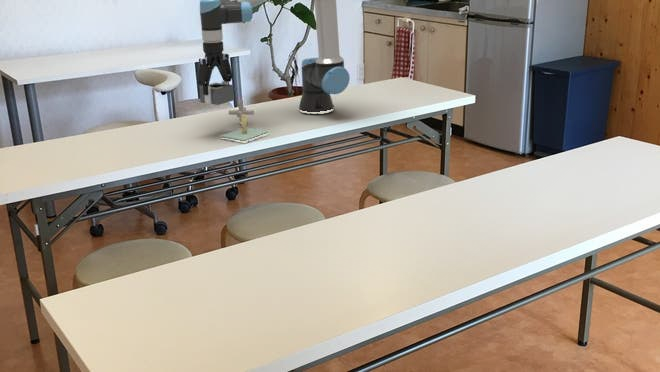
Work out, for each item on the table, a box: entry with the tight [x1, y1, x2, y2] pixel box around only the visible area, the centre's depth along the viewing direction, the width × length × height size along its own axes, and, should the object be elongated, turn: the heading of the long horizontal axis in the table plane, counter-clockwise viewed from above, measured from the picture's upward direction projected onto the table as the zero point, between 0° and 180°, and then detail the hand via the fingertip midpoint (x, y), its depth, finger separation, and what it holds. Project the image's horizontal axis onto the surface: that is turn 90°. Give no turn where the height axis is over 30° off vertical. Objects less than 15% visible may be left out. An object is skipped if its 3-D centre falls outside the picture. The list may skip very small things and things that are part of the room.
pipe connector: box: [228, 99, 255, 123], centre depth 287 cm, size 10×10×10 cm
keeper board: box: [220, 114, 269, 141], centre depth 268 cm, size 14×12×9 cm
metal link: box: [198, 82, 235, 106], centre depth 269 cm, size 9×9×6 cm
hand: (217, 100), depth 270 cm, fingers closed on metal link, 9 cm apart
